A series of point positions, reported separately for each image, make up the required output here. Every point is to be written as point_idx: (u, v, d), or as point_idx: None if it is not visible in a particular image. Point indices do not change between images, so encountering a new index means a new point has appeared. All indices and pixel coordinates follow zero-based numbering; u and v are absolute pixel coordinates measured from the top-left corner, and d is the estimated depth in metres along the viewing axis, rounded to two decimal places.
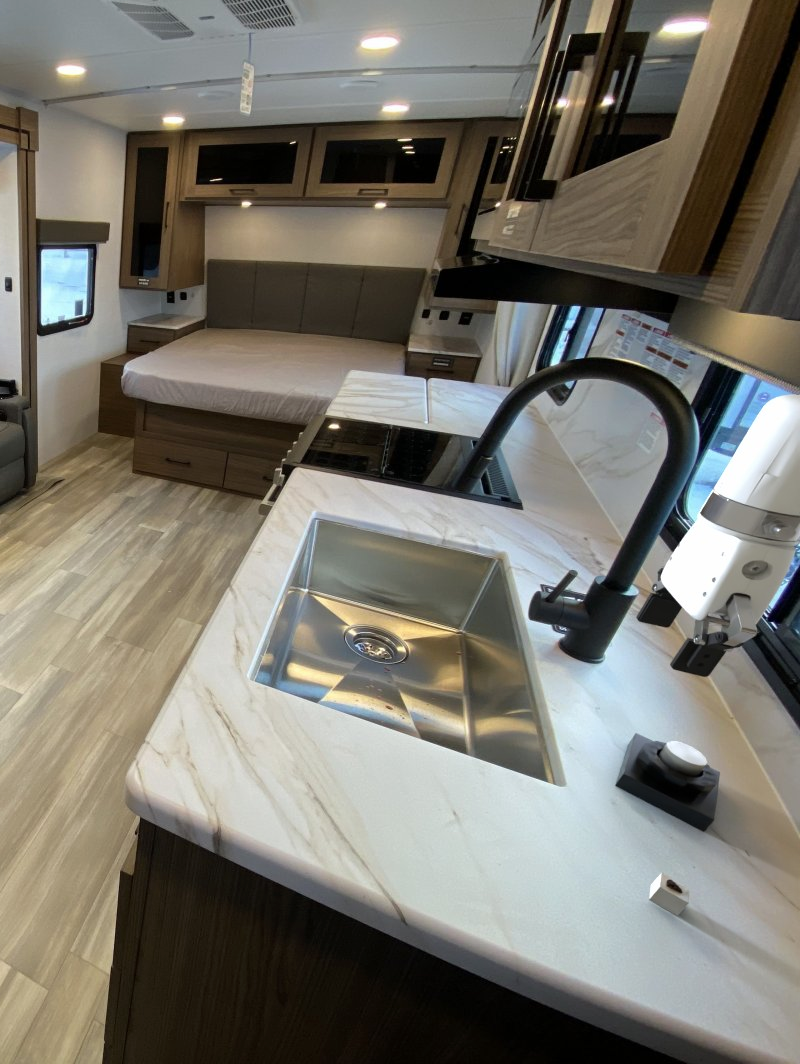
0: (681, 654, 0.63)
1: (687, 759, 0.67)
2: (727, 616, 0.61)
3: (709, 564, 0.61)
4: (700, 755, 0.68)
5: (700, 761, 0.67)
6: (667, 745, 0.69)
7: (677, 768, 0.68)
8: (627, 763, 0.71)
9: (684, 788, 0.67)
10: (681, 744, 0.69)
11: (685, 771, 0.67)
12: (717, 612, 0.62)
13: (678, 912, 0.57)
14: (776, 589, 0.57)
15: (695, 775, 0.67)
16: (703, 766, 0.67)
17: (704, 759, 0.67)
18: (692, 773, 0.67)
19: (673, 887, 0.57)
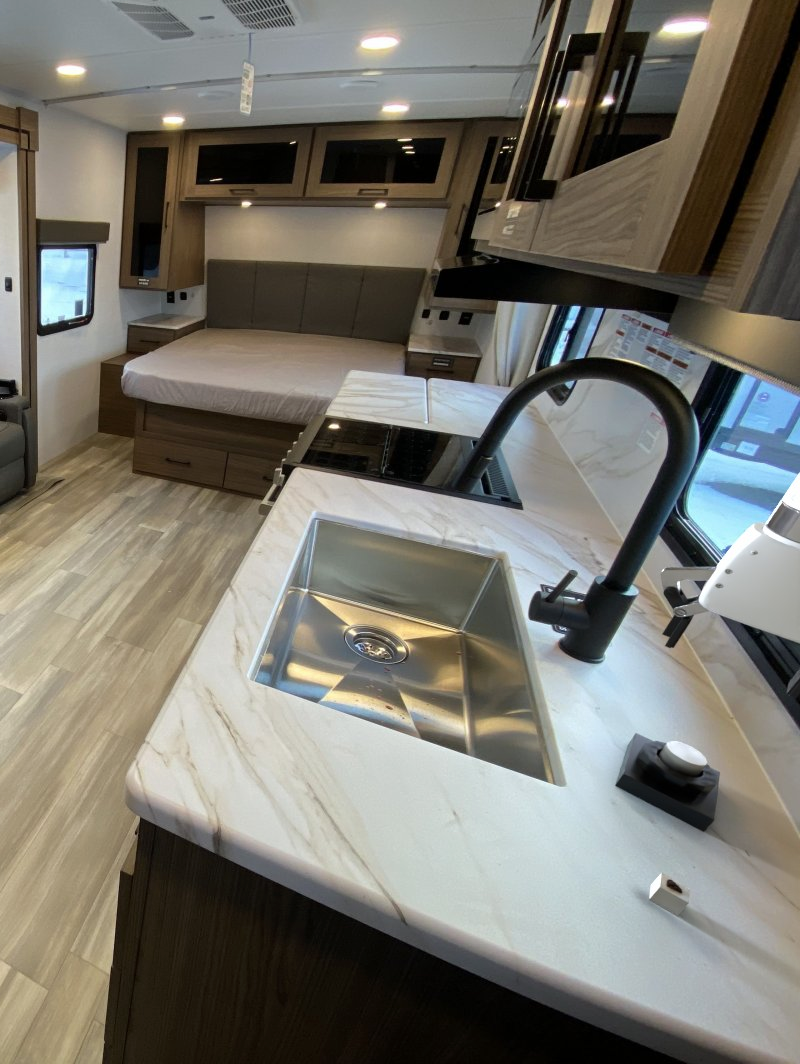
0: None
1: (687, 759, 0.67)
2: None
3: None
4: (700, 755, 0.68)
5: (700, 761, 0.67)
6: (667, 745, 0.69)
7: (677, 768, 0.68)
8: (627, 763, 0.71)
9: (684, 788, 0.67)
10: (681, 744, 0.69)
11: (685, 771, 0.67)
12: None
13: (678, 912, 0.57)
14: None
15: (695, 775, 0.67)
16: (703, 766, 0.67)
17: (704, 759, 0.67)
18: (692, 773, 0.67)
19: (674, 887, 0.57)
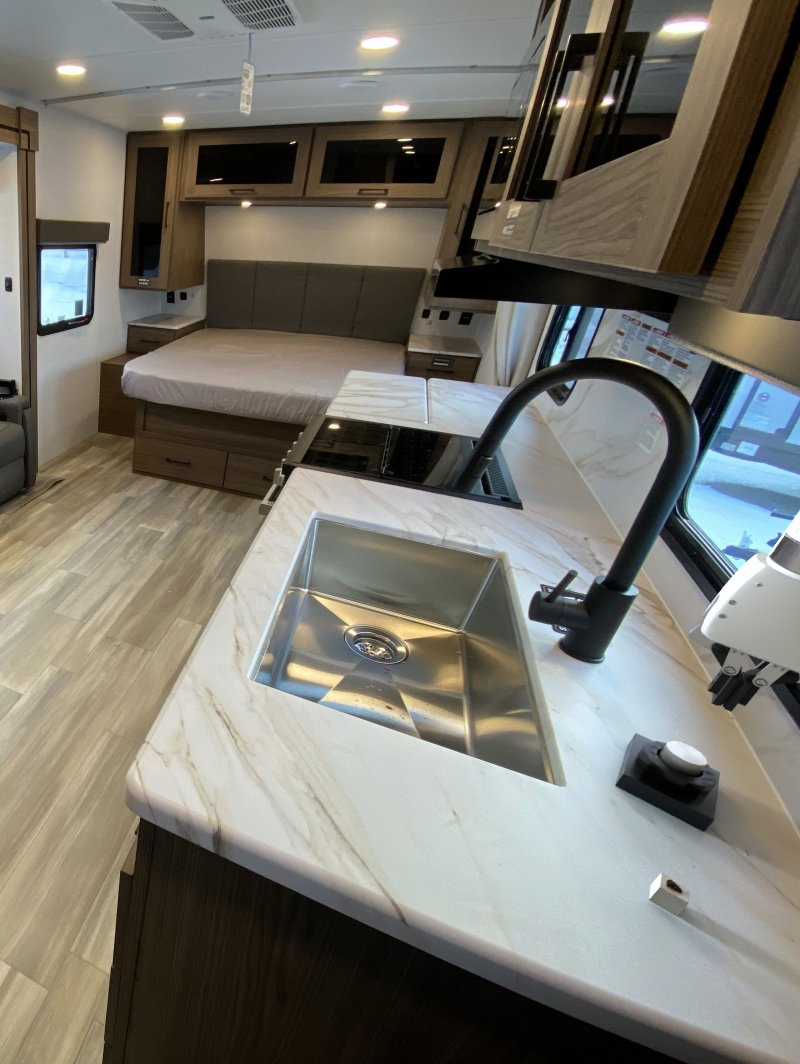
0: (741, 698, 0.62)
1: (687, 759, 0.67)
2: None
3: None
4: (700, 755, 0.68)
5: (700, 761, 0.67)
6: (667, 745, 0.69)
7: (677, 768, 0.68)
8: (627, 763, 0.71)
9: (684, 788, 0.67)
10: (681, 744, 0.69)
11: (685, 771, 0.67)
12: None
13: (678, 912, 0.57)
14: None
15: (695, 775, 0.67)
16: (703, 766, 0.67)
17: (704, 759, 0.67)
18: (692, 773, 0.67)
19: (673, 887, 0.57)
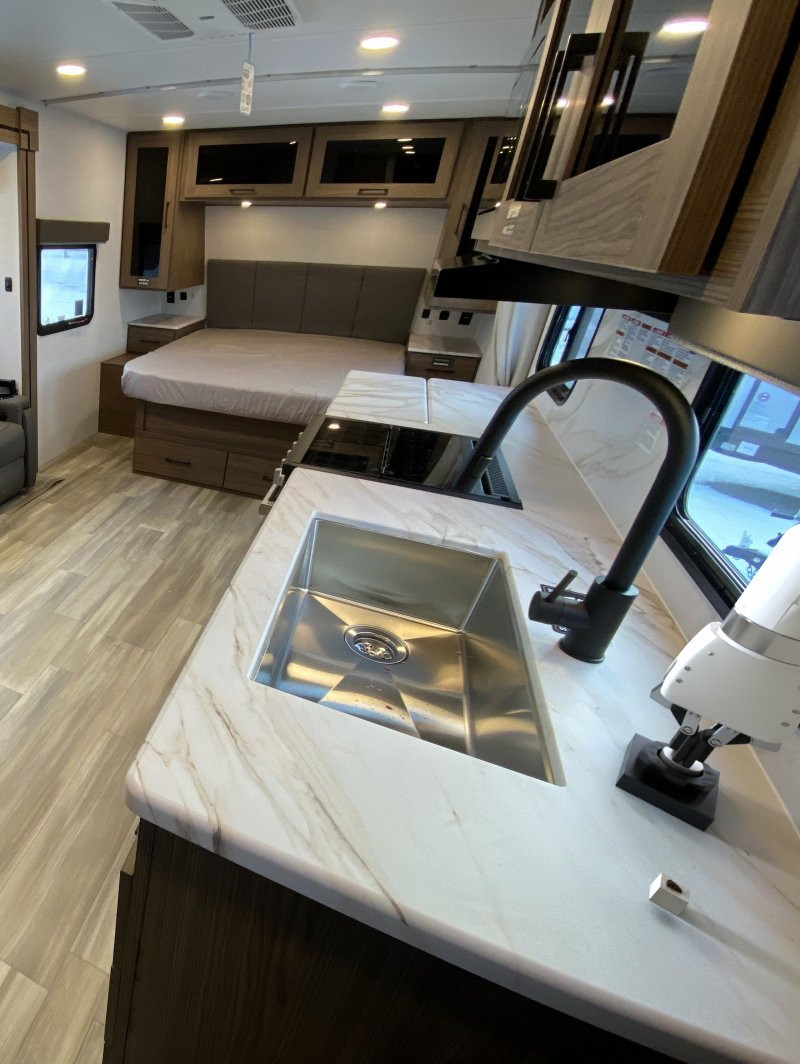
0: (698, 756, 0.66)
1: (683, 765, 0.68)
2: None
3: (780, 697, 0.59)
4: None
5: (696, 767, 0.67)
6: (663, 750, 0.70)
7: None
8: (627, 763, 0.71)
9: (684, 788, 0.67)
10: None
11: None
12: None
13: (678, 912, 0.57)
14: None
15: None
16: (699, 771, 0.67)
17: (700, 764, 0.68)
18: None
19: (673, 887, 0.57)
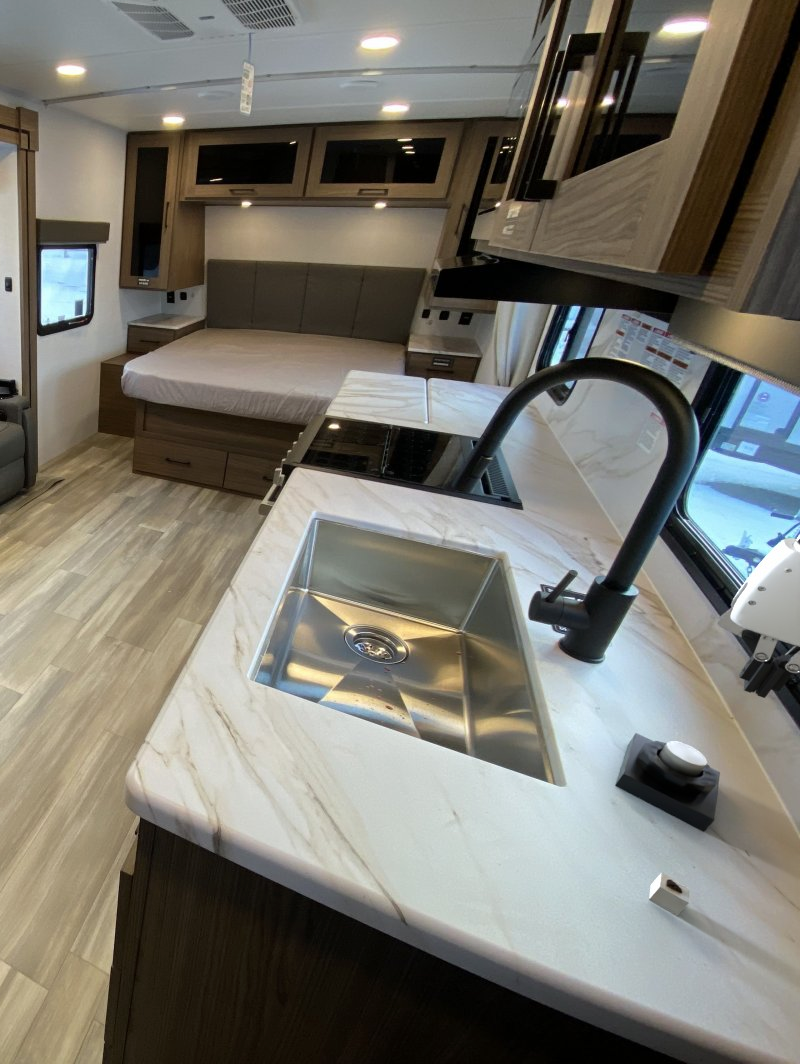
0: (774, 684, 0.62)
1: (687, 759, 0.67)
2: None
3: None
4: (700, 755, 0.68)
5: (700, 761, 0.67)
6: (667, 745, 0.69)
7: (677, 768, 0.68)
8: (627, 763, 0.71)
9: (684, 788, 0.67)
10: (681, 744, 0.69)
11: (685, 771, 0.67)
12: None
13: (678, 912, 0.57)
14: None
15: (695, 775, 0.67)
16: (703, 766, 0.67)
17: (704, 759, 0.67)
18: (692, 773, 0.67)
19: (673, 887, 0.57)
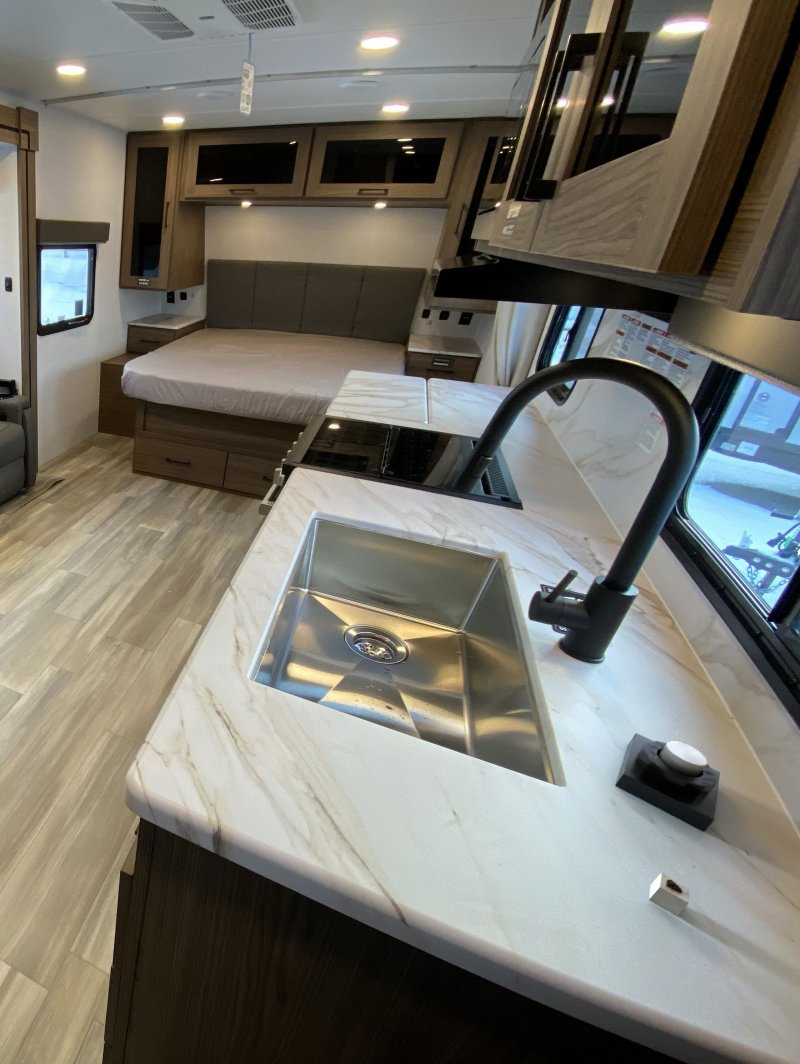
0: None
1: (687, 759, 0.67)
2: None
3: None
4: (700, 755, 0.68)
5: (700, 761, 0.67)
6: (667, 745, 0.69)
7: (677, 768, 0.68)
8: (627, 763, 0.71)
9: (684, 788, 0.67)
10: (681, 744, 0.69)
11: (685, 771, 0.67)
12: None
13: (678, 912, 0.57)
14: None
15: (695, 775, 0.67)
16: (703, 766, 0.67)
17: (704, 759, 0.67)
18: (692, 773, 0.67)
19: (673, 887, 0.57)
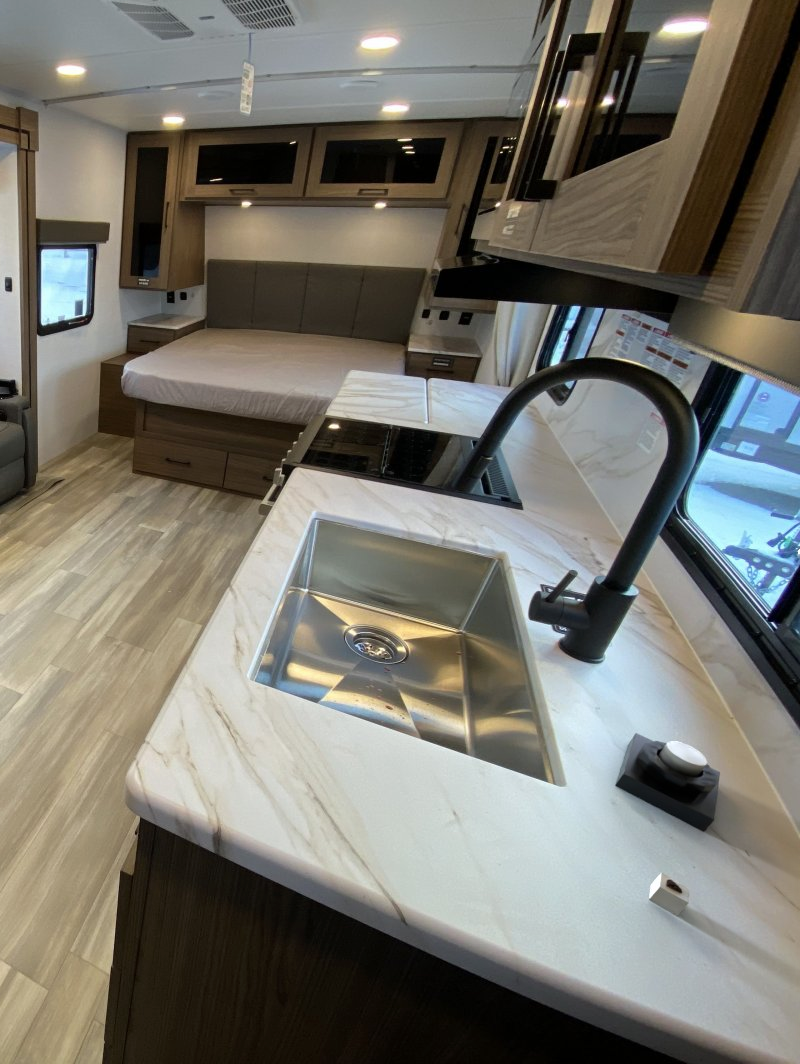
0: None
1: (687, 759, 0.67)
2: None
3: None
4: (700, 755, 0.68)
5: (700, 761, 0.67)
6: (667, 745, 0.69)
7: (677, 768, 0.68)
8: (627, 763, 0.71)
9: (684, 788, 0.67)
10: (681, 744, 0.69)
11: (685, 771, 0.67)
12: None
13: (678, 912, 0.57)
14: None
15: (695, 775, 0.67)
16: (703, 766, 0.67)
17: (704, 759, 0.67)
18: (692, 773, 0.67)
19: (673, 887, 0.57)
